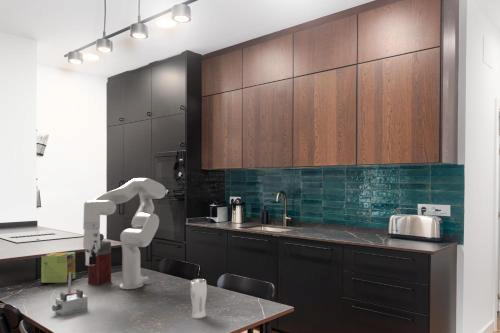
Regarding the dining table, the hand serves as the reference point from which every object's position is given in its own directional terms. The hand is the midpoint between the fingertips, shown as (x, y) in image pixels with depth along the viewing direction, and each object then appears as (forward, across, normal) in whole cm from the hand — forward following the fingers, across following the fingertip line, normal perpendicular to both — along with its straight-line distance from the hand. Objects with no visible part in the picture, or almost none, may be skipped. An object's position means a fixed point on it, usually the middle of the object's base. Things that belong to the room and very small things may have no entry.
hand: (90, 263), depth 188 cm
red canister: (+17, +32, -18) cm, 41 cm away
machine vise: (+19, -7, +12) cm, 23 cm away
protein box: (+18, +55, -4) cm, 58 cm away
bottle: (+1, 0, 0) cm, 1 cm away
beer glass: (+18, -55, -25) cm, 63 cm away
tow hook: (+18, +15, +2) cm, 24 cm away
